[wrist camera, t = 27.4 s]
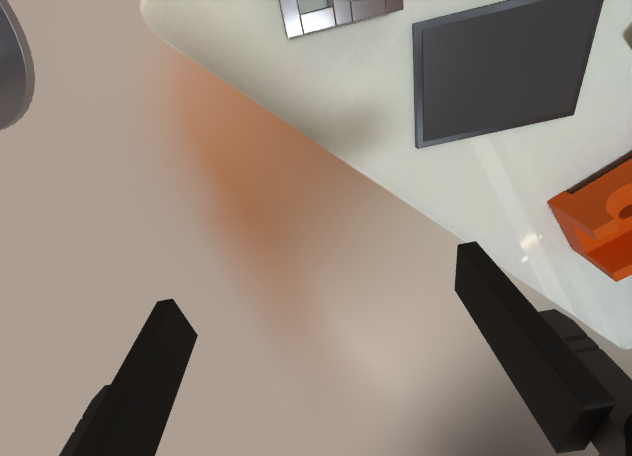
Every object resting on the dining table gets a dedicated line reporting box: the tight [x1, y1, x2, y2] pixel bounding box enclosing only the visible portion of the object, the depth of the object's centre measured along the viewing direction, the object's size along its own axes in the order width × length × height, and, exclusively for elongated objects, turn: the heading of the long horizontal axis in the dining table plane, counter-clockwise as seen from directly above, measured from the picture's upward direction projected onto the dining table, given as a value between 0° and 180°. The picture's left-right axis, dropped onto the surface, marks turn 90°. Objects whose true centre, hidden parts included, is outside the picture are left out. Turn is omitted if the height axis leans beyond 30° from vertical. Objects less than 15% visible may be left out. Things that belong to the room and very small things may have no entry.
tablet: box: [413, 0, 604, 149], centre depth 34 cm, size 20×14×1 cm
